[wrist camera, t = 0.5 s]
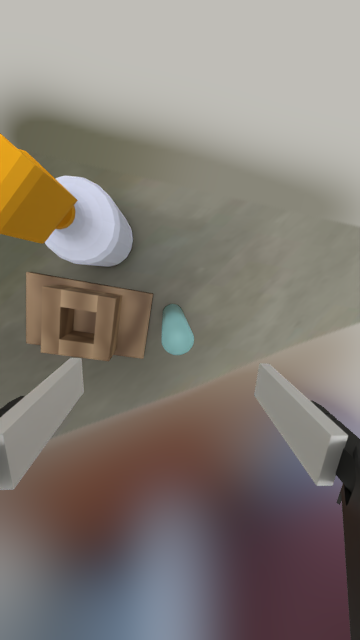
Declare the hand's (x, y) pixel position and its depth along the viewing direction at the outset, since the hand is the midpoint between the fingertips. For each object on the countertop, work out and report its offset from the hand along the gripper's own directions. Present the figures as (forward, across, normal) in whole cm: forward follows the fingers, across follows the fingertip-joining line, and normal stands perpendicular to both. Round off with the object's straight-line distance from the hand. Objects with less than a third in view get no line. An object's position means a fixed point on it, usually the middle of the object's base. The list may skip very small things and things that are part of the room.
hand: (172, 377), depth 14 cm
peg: (+21, 0, 0) cm, 21 cm away
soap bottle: (+21, -11, +12) cm, 27 cm away
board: (+21, -14, -1) cm, 25 cm away
